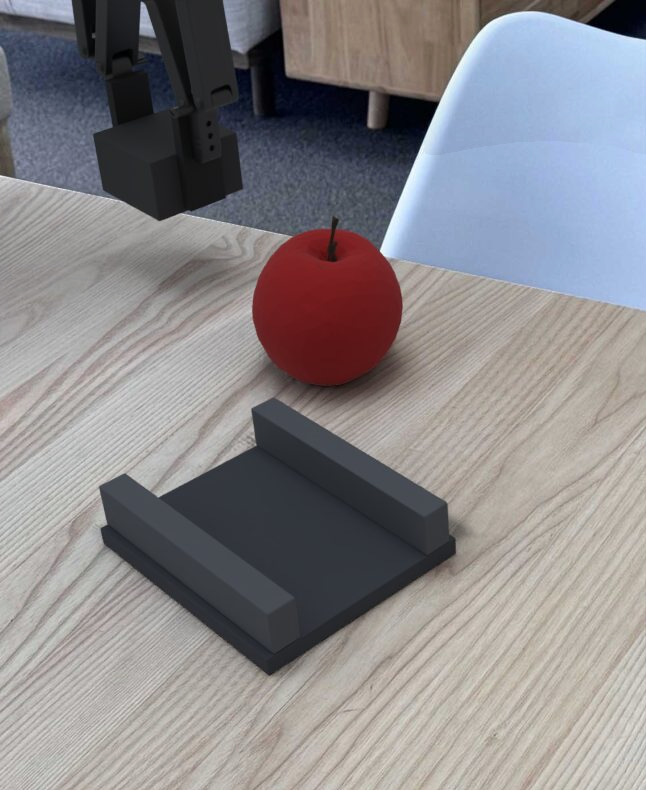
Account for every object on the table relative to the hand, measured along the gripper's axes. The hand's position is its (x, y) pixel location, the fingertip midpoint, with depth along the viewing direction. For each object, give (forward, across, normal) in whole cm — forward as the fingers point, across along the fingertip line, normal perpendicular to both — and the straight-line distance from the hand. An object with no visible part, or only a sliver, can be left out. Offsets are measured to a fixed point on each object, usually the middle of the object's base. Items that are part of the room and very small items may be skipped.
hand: (172, 185), depth 91 cm
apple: (+8, -15, 0) cm, 17 cm away
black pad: (0, 0, 0) cm, 0 cm away
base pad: (+7, -26, +13) cm, 30 cm away
